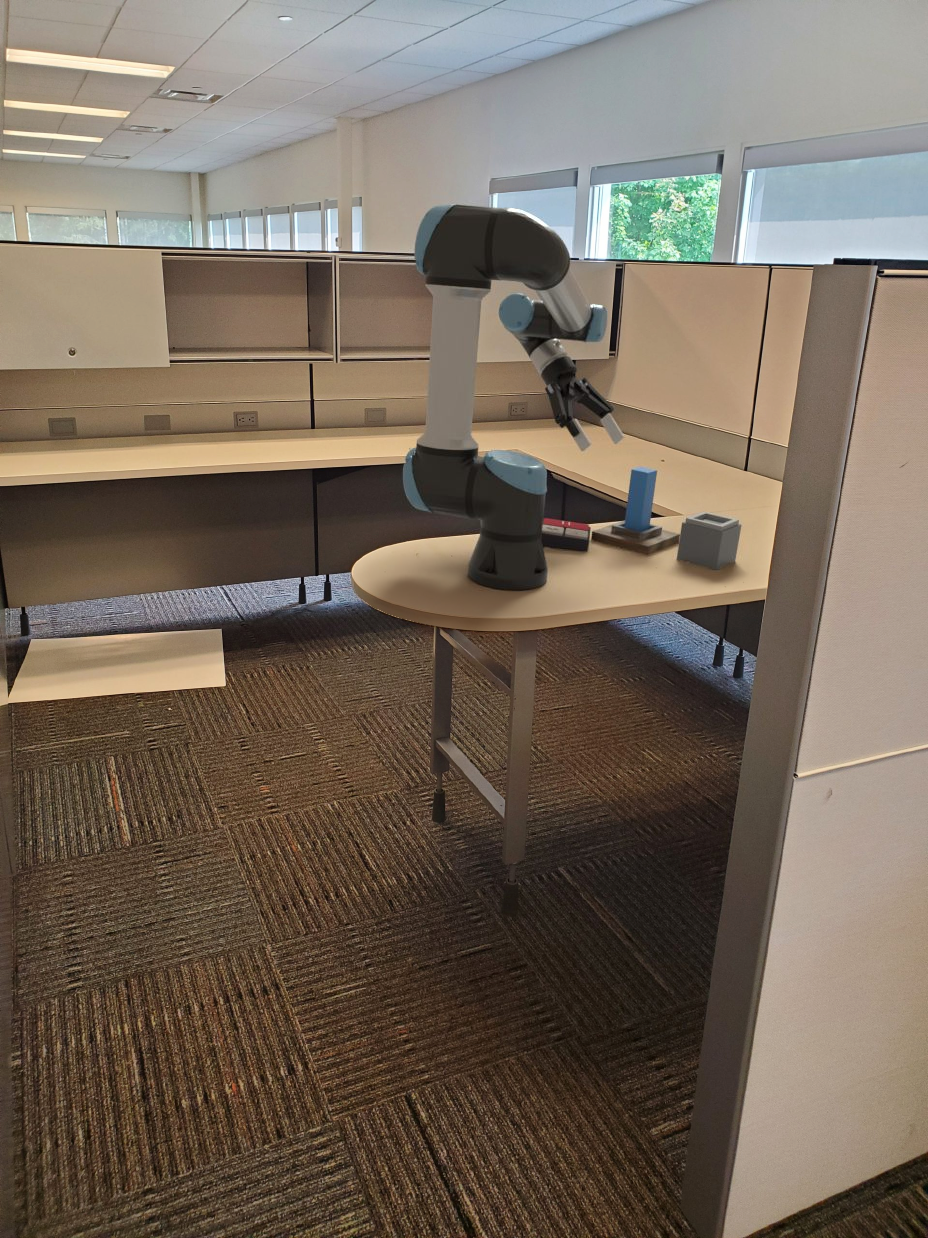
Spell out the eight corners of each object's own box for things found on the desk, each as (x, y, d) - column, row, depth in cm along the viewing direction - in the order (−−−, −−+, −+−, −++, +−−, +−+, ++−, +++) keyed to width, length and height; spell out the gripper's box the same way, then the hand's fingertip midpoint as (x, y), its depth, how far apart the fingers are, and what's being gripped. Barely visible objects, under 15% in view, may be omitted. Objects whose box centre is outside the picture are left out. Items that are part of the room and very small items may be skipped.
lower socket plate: (647, 555, 197) (649, 539, 196) (591, 540, 205) (592, 524, 204) (678, 542, 207) (681, 527, 206) (624, 528, 215) (626, 513, 214)
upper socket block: (716, 570, 191) (723, 527, 187) (676, 559, 196) (682, 517, 193) (735, 561, 197) (742, 519, 194) (696, 550, 202) (702, 510, 199)
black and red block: (589, 537, 196) (518, 526, 197) (586, 556, 197) (516, 545, 199) (591, 523, 206) (524, 513, 207) (588, 541, 208) (521, 531, 209)
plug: (639, 536, 203) (647, 472, 198) (623, 532, 205) (631, 469, 200) (648, 533, 206) (657, 470, 201) (632, 528, 208) (640, 466, 203)
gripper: (531, 356, 197) (584, 440, 194) (596, 351, 215) (644, 428, 212) (509, 378, 202) (560, 460, 199) (574, 372, 220) (621, 447, 217)
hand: (603, 444), depth 205 cm, fingers open, 13 cm apart
